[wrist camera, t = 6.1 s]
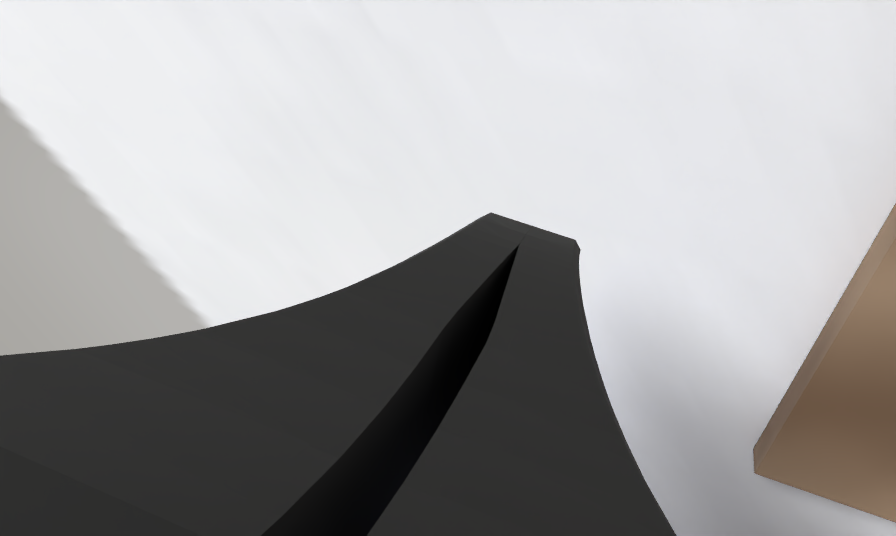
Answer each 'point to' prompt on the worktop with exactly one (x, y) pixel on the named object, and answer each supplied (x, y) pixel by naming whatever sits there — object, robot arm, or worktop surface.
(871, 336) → the pivot board
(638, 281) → the worktop surface
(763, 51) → the worktop surface
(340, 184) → the worktop surface
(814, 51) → the worktop surface
